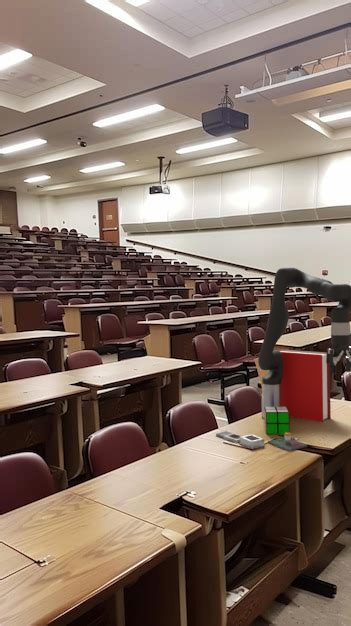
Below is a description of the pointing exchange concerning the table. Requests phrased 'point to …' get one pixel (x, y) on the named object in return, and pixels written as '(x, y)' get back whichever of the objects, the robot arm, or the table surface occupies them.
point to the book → (306, 384)
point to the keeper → (287, 443)
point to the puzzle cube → (276, 420)
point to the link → (252, 441)
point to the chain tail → (229, 436)
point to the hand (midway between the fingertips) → (341, 372)
